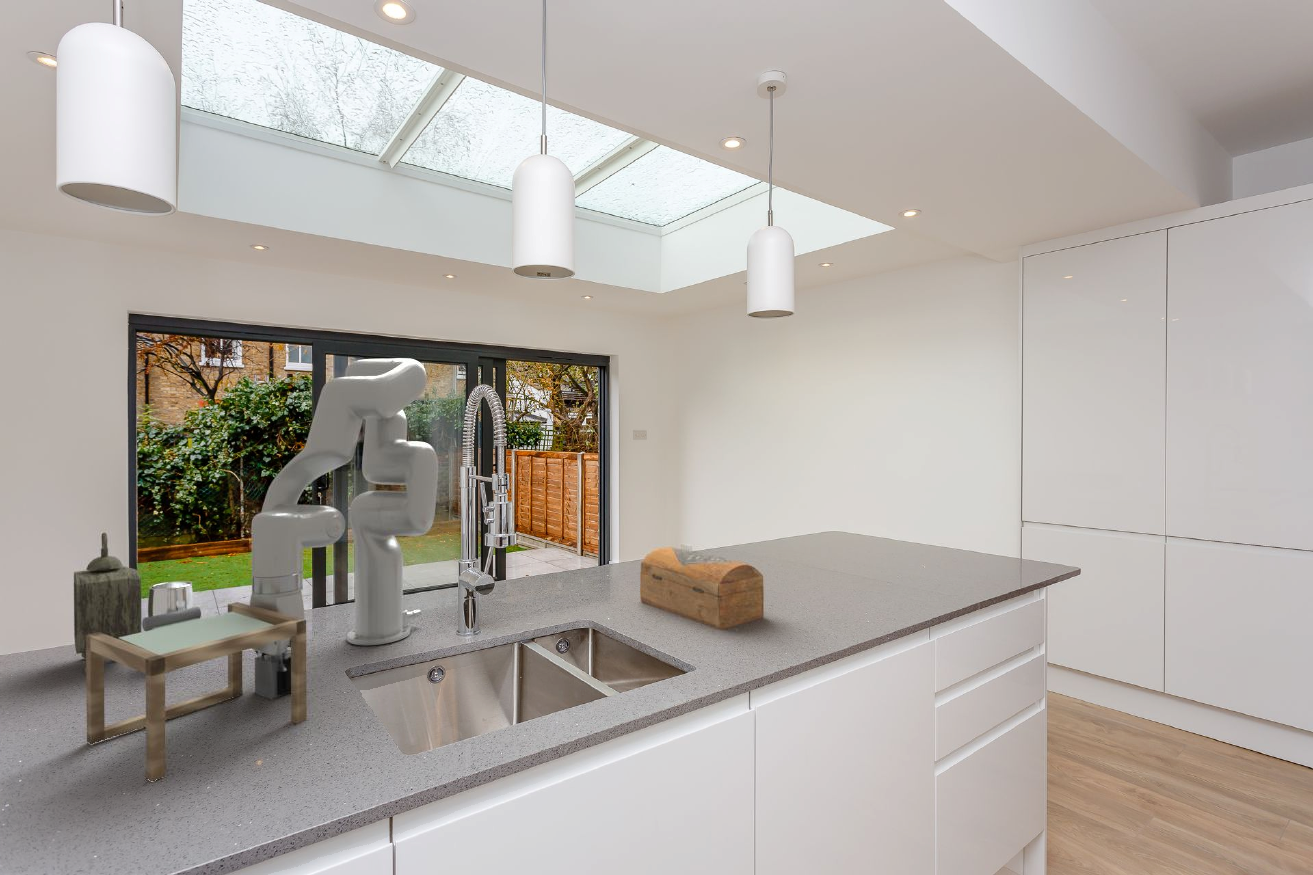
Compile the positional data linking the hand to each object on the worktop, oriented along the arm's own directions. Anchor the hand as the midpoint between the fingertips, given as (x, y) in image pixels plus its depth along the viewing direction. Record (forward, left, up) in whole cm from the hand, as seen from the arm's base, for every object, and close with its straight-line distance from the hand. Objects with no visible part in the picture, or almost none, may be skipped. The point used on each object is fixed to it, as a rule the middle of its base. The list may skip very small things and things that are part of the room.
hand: (278, 687), depth 108 cm
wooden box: (-81, +41, -1) cm, 91 cm away
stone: (0, 0, -1) cm, 1 cm away
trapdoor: (+14, +4, +13) cm, 20 cm away
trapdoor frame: (+14, +5, 0) cm, 15 cm away
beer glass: (+3, -31, -1) cm, 31 cm away
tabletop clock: (+9, -42, -1) cm, 43 cm away
